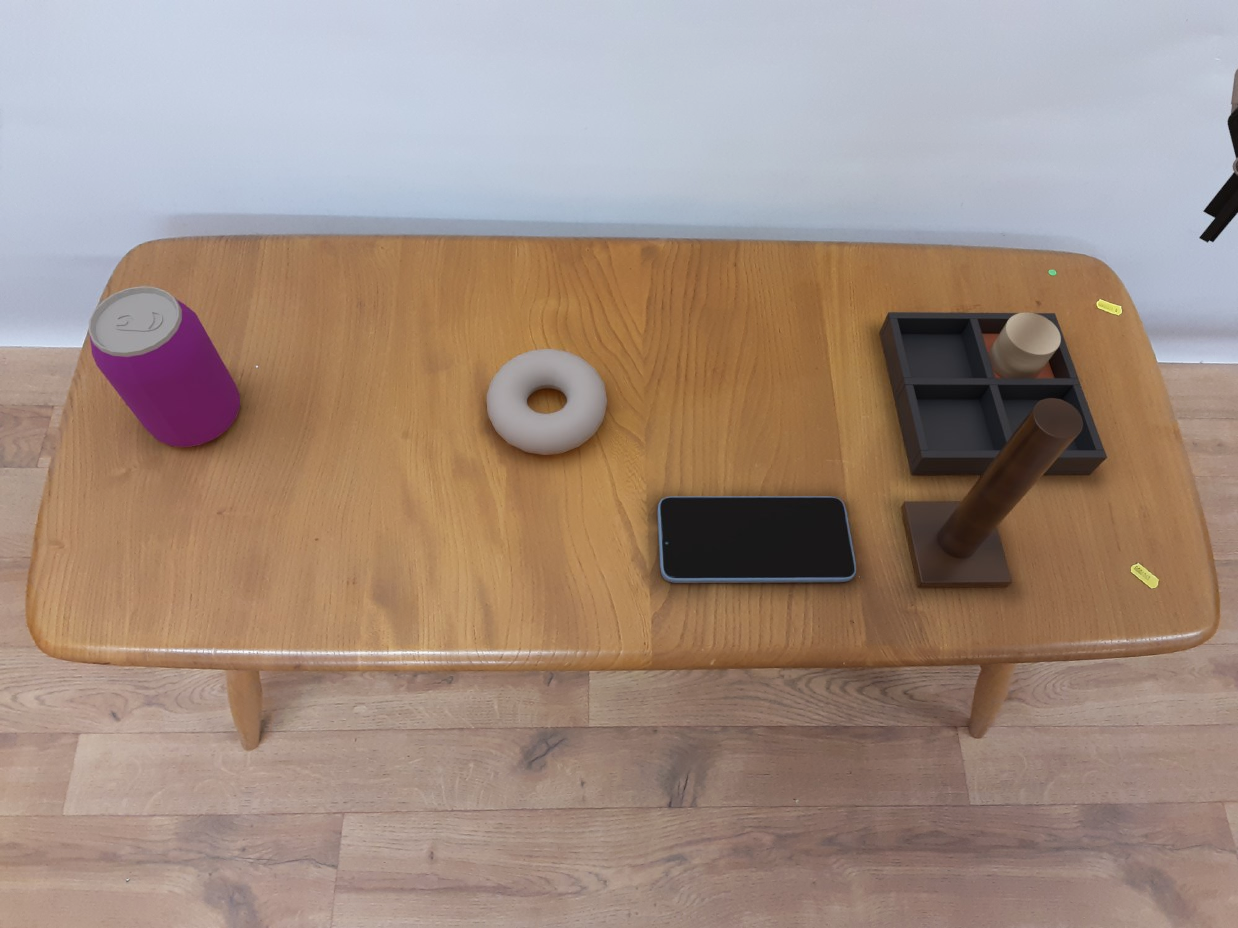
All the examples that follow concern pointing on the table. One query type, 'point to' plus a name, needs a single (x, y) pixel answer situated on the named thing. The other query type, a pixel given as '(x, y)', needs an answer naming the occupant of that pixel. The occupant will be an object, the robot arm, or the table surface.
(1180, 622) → the table surface
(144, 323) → the beverage can
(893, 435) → the table surface
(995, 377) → the grid
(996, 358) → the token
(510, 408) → the donut
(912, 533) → the stand
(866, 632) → the table surface
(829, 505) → the smartphone
